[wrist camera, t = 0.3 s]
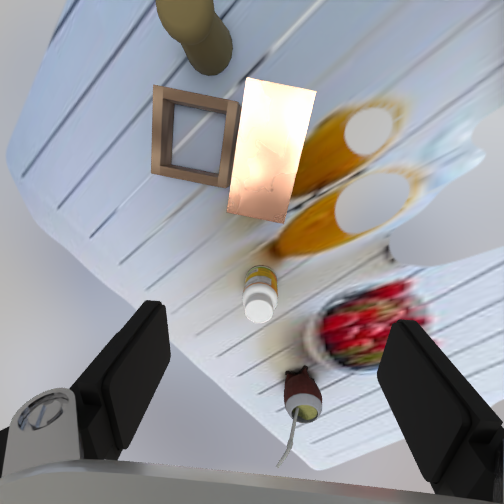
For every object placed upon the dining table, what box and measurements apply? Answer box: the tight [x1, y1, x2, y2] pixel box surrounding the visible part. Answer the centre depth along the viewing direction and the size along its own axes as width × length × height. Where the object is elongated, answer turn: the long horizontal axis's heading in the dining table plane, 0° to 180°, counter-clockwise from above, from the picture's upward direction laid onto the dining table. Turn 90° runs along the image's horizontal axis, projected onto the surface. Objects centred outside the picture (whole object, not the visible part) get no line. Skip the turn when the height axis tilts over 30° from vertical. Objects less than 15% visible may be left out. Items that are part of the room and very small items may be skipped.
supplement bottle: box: [242, 266, 278, 323], centre depth 39 cm, size 5×5×10 cm
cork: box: [156, 0, 233, 76], centre depth 26 cm, size 6×6×11 cm
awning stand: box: [227, 77, 316, 224], centre depth 28 cm, size 10×5×17 cm, turn 169°
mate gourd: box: [277, 366, 322, 468], centre depth 44 cm, size 8×8×15 cm
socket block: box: [151, 85, 242, 188], centre depth 34 cm, size 10×10×4 cm
